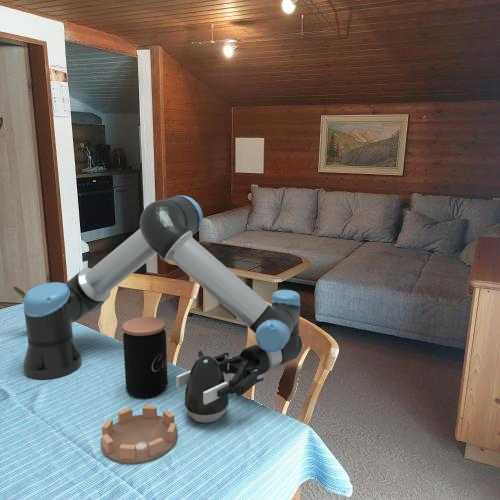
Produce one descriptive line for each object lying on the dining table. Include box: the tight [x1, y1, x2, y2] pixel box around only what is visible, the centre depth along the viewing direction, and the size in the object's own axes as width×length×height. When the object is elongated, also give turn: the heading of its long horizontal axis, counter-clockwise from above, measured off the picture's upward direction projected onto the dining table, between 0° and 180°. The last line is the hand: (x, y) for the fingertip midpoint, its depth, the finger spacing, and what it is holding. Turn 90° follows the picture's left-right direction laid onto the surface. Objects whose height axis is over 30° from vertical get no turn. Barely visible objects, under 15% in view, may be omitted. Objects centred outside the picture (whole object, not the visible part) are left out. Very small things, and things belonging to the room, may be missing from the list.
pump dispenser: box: [184, 350, 230, 424], centre depth 105 cm, size 10×10×15 cm
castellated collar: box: [100, 405, 179, 465], centre depth 98 cm, size 16×16×3 cm
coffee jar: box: [122, 316, 169, 399], centre depth 116 cm, size 11×11×18 cm
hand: (190, 389), depth 102 cm, fingers closed on pump dispenser, 9 cm apart
